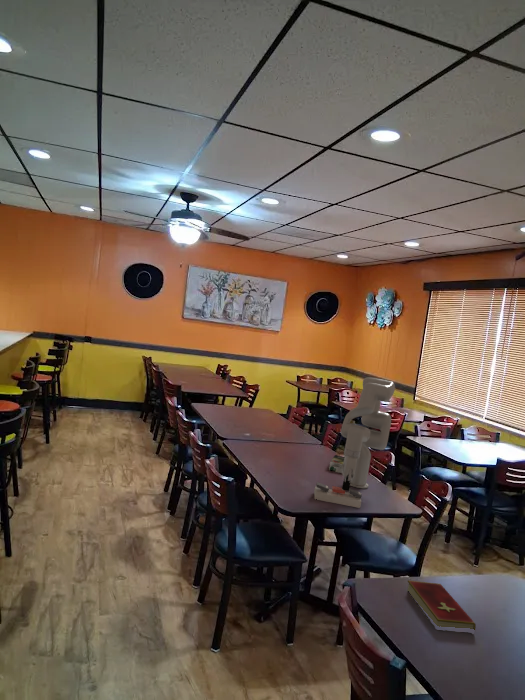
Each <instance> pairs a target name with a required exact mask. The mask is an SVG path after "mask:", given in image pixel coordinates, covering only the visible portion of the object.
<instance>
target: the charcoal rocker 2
mask: <svg viewBox="0 0 525 700" xmlns="http://www.w3.org/2000/svg"><path fill="white" fill-rule="evenodd" d="M348 493H349V494H352V495H354V496H357V497H359V498H361V499H362V497H363V496H362V492H360V491H358V490H355V489H353V488H351V487H350V488H349V491H348Z"/></svg>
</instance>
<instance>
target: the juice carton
mask: <svg viewBox="0 0 525 700" xmlns="http://www.w3.org/2000/svg"><path fill="white" fill-rule="evenodd" d="M344 458H345V456H342V455H337V454H335V455H334V456H333V457H332V459H331V460H330V462H329V467H328V471H331V470H332V471H333V472H335V473H339V474H342V467H343V462H344Z"/></svg>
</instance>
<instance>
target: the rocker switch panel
mask: <svg viewBox="0 0 525 700" xmlns="http://www.w3.org/2000/svg"><path fill="white" fill-rule="evenodd" d="M313 496H314V500H316V499H317V501H322V502H327V503H333V504H338V505H343V506H349V507H354V508H358V509H359V508H360V509H361V505H362V497H361V498H359V497H357V496H354V495H352V494H349V491H345V494H343V493H337V492H332V488H329V491H328V492H327V491H324V490H322V489H320V488H317V487H316V485H315V486H314V490H313Z"/></svg>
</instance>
